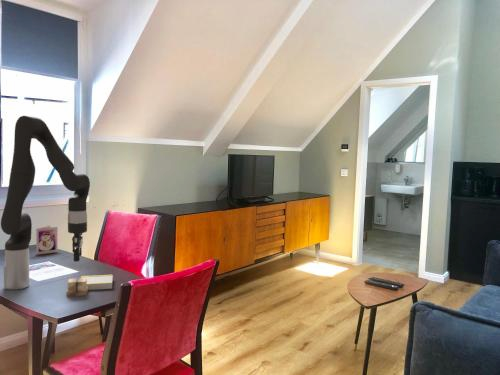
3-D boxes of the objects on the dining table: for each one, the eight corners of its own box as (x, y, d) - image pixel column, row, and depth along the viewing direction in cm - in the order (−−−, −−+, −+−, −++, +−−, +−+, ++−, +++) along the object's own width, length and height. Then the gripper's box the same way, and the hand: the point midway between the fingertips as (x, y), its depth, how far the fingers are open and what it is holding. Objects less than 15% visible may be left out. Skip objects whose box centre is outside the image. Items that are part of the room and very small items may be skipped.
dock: (78, 290, 179) (78, 284, 179) (81, 281, 191) (81, 276, 191) (112, 288, 184) (112, 282, 183) (112, 280, 195) (112, 274, 195)
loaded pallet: (66, 296, 172) (66, 282, 171) (67, 292, 177) (68, 278, 176) (86, 295, 174) (86, 281, 174) (87, 291, 179) (87, 277, 179)
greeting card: (36, 254, 234) (36, 229, 233) (33, 252, 239) (33, 227, 238) (57, 252, 242) (57, 227, 240) (53, 249, 247) (53, 225, 246)
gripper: (70, 218, 179) (70, 254, 180) (65, 224, 165) (65, 263, 166) (88, 218, 181) (88, 254, 182) (85, 223, 167) (85, 262, 169)
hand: (77, 258), depth 174 cm, fingers open, 8 cm apart
